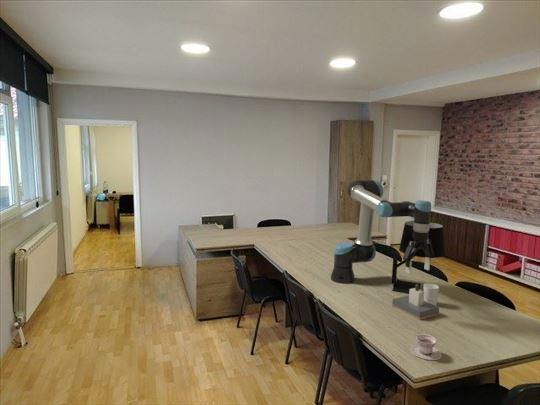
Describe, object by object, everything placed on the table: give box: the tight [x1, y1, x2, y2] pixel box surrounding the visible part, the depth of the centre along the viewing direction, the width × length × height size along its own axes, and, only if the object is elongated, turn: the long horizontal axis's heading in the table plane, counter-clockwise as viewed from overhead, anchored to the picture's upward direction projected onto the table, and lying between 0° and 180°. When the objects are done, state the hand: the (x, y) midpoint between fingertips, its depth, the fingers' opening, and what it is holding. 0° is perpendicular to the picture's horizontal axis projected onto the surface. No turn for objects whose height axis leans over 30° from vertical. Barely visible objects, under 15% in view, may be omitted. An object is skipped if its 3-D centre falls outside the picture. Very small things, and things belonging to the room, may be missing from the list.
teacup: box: [409, 333, 443, 361], centre depth 152 cm, size 12×12×6 cm
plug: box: [408, 284, 424, 307], centre depth 193 cm, size 6×4×13 cm, turn 27°
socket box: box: [392, 295, 440, 321], centre depth 194 cm, size 18×14×4 cm
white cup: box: [422, 283, 440, 306], centre depth 203 cm, size 8×8×10 cm
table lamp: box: [391, 220, 446, 295], centre depth 222 cm, size 26×28×40 cm
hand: (417, 271), depth 191 cm, fingers open, 13 cm apart
